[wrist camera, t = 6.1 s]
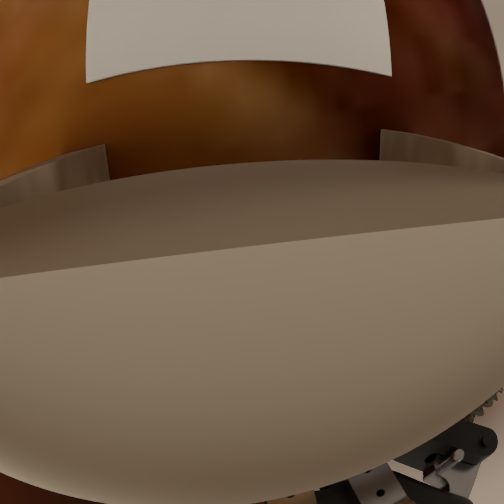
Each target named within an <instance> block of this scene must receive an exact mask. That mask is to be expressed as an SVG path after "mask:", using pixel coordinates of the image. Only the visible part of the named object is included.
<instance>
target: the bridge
mask: <svg viewBox="0 0 504 504" xmlns="http://www.w3.org/2000/svg"><path fill="white" fill-rule="evenodd" d="M503 386H504V158H502V157H499V156H496V155H493V154H490V153H487V152H484V151H481V150H478V149H474V148H471V147H468V146H464V145H460V144H457V143H453V142H449V141H445V140H441V139H437V138H433V137H428V136H423V135H419V134H414V133H407V132H400V131H393V130H384V129H381V134H380V157H379V160H286V161H265V162H249V163H236V164H224V165H214V166H204V167H195V168H187V169H179V170H171V171H164V172H157V173H150V174H144V175H138V176H132V177H126V178H121V179H115V180H110V175H109V169H108V162H107V155H106V147H105V144H103V145H98V146H94V147H90V148H86V149H82V150H78V151H74V152H70V153H67V154H63V155H60V156H57V157H54V158H52V159H49V160H46V161H44V162H41V163H39V164H36V165H34V166H31V167H29V168H26V169H24V170H22V171H19V172H17V173H15V174H13V175H11V176H8V177H6V178H4V179H2V180H0V472H1V473H4V474H6V475H8V476H11V477H13V478H16V479H18V480H21V481H23V482H26V483H29V484H32V485H35V486H37V487H40V488H44V489H47V490H50V491H53V492H57V493H60V494H64V495H68V496H73V497H76V498H81V499H85V500H90V501H96V502H102V503H108V504H251V503H257V502H263V501H268V500H273V499H278V498H283V497H287V496H292V495H296V494H300V493H304V492H307V491H311V490H314V489H318V488H321V487H324V486H328V485H331V484H334V483H337V482H340V481H343V480H345V479H348V478H351V477H353V476H356V475H359V474H361V473H364V472H366V471H368V470H371V469H373V468H375V467H378V466H380V465H382V464H384V463H387V462H389V461H390V460H393V459H395V458H397V457H399V456H401V455H403V454H405V453H407V452H409V451H411V450H413V449H414V448H416V447H418V446H420V445H422V444H423V443H425V442H427V441H428V440H430V439H432V438H434V437H435V436H437V435H438V434H440V433H442V432H443V431H445V430H446V429H448V428H449V427H451V426H452V425H454V424H455V423H457V422H458V421H460V420H461V419H463V418H464V417H465V416H467V415H468V414H469V413H471V412H472V411H473V410H475V409H476V408H477V407H479V406H480V405H481V404H483V403H484V402H485V401H486V400H488V399H489V398H490V397H491V396H492V395H494V394H495V393H496V392H497V391H498V390H499V389H500V388H502V387H503Z"/></svg>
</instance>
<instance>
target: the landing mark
mask: <svg viewBox="0 0 504 504" xmlns="http://www.w3.org/2000/svg"><path fill="white" fill-rule="evenodd" d="M221 61H283V62H299V63H310V64H320V65H328V66H336V67H343V68H349V69H355V70H360V71H366V72H371V73H376V74H380V75H385V76H389V77H390V76H392V69H391V54H390V42H389V33H388V24H387V17H386V10H385V3H384V0H89V8H88V19H87V35H86V83H87V84H89V83H92V82H96V81H99V80H103V79H107V78H111V77H115V76H120V75H124V74H129V73H133V72H139V71H144V70H149V69H155V68H162V67H169V66H176V65H184V64H194V63H206V62H221Z"/></svg>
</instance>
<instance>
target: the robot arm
mask: <svg viewBox="0 0 504 504" xmlns="http://www.w3.org/2000/svg"><path fill="white" fill-rule="evenodd" d="M497 444H498V440H497V435H496V433H495V432H494V431H493V430H492V429H490V428H487V427H484V426H481V425H478V424H475V423H472V422H469V421H466V420H463V419H461V420H460V421H458V422H457V423H455V424H454V425H452V426H451V427H449V428H448V429H446V430H445V431H443V432H442V433H440V434H438V435H437V436H435V437H434V438H432V439H430V440H428V441H427V442H425V443H423V444H422V445H420V446H418V447H416V448H414V449H413V450H411V451H409V452H407V453H405V454H403V455H401V456H399V457H397V458H395V459H393V460H395V461H397V462H399V463H402V464H405V465H407V466H410V467H412V468H415V469H418V470H421V471H423V481H424V482H426V483H428V484H430V485H428V484H426V483H423V482H420V481H417V480H415V479H413V478H411V477H408V476H406V475H403V474H401V473H398V472H395V471H392V470H391V468H390V467H389V465H388V463H384V464H382V465H380V466H378V467H375V468H373V469H371V470H368V471H366V472H364V473H361V474H359V475H356V476H353V477H351V478H348V479H345V480H343V481H340V482H337V483H334V484H331V485H328V486H324V487H321V488H319V489H320V491H314V490H311V491H307V492H304V493H300V494H296V495H292V496H287V497H283V498H278V499H273V500H268V501H264V504H473V503H472V502H471V501H470V500H469V499H468V498H469V495H470V493H471V490H472V487H473V485H474V481H475V479H476V476H477V473H478V469H479V467H480V464H481V462H482V461H483V460H484V459H486V458H487V457H488V456H490V455H491V454H492V453H493V452H494V451H495V450H496V448H497ZM431 485H432V486H431Z"/></svg>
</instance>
